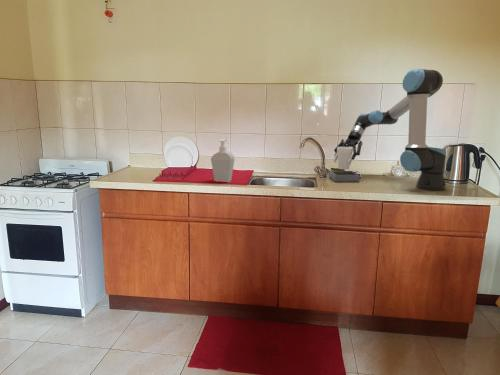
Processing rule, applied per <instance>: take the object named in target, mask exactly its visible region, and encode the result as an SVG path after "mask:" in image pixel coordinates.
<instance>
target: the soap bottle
mask: <svg viewBox="0 0 500 375" xmlns="http://www.w3.org/2000/svg"><path fill="white" fill-rule="evenodd" d="M218 142H219V143H220V146H219V150H218V152H216V153H214V154H213V155H212V156H211V158H210V162H211V167H212V169H211V170H212V175H213V180H214V182H215V181H223V182H229V181H230V180H231V181H232V177H233V171H234V164H235V155H233V153H232V152H229V151H227V146H225V142H227V138H220V139H219V140H218ZM231 181H230V182H231ZM230 182H229V183H230Z"/></svg>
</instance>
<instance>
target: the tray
mask: <svg viewBox="0 0 500 375" xmlns="http://www.w3.org/2000/svg"><path fill="white" fill-rule="evenodd" d="M328 178H329V179H330V180H331V181H333V182H334V183H359V182H360V174H358V173H357V172H354V171H353V170H329V177H328Z"/></svg>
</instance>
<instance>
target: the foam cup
mask: <svg viewBox="0 0 500 375" xmlns="http://www.w3.org/2000/svg"><path fill="white" fill-rule="evenodd" d="M336 147H337V146H336ZM337 153H338V159H337V165H338V166H337V167H338V169H339V170H349V169H350V167H351V166H350V165H351V164H349V163H348V160H349V158H350V156H351V154H352V153H353V147H337Z"/></svg>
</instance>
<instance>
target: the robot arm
mask: <svg viewBox="0 0 500 375" xmlns="http://www.w3.org/2000/svg"><path fill="white" fill-rule="evenodd" d="M443 82H444V78H443V76H442V74H441V73H440V71H438V70H434V69H425V68H416V69H411V70H409V71H408V72H407V73H406V74H404V77H403V79H402V88H403V90H404V91H405V92H406V96H404V97H403V98H401V100H399V101H398V102H397V103H396V104H395V105H393V106H392V107H391V108H390V109H388V110H386V111H383V112H382V111H380V110H377V109H376V110H374V111H372V112H369V113H360V114H359V116H358V117H357V118H356V121H355V123H354V124H353V126H352V128H351V130H350V132H349V134H348V136H347V139H343V138H342V139H341V141H340V142H339V144H338V145H337V146H336V147H335V148H334V150H333V151H334V153H335V154H334V157H333V159H332V160H333V162H334V163H337V162H338V153H337V147H352V148H353V152H352V154H351V156H350V158H349V160H348V163H349V164H350V165H351V164H352V162H353V160H354V161H355V158H357V157H356V156H360V155H361V150H362V146H363V144H364V143H363V141H362V140H361V139H362V136H363V135H364V133H365V130H366V129H367V128H369V127H371V126H374V125H394V124H396V123H398V120H399V118H400V117H401V116H403V115H405V114H406V113H407V112H408V111H409V112H408V138H407V139H408V141H407V145H406V146H405V148H404V151H403V152H402V153H401V154H400V158H399V160H400V165H401V167H402V168H403V169H404V170H405V171H406V172H414V173H416V172H420V174H419V177H418V179H417V182H416V188H418V189H422V190H428V191H444V190H446V181H445V180H446V179H445V176H444V175H445V174H444V173H445V166H446V158H447V150H446V149H445V148H440V147H432V146H428V145H427V144H426V140H427V138H426V136H427V118H428V117H427V115H428V114H427V112H428V110H427V109H428V98H430V97H432V96H433V95H435V94H436V93H437V92H438V91H439V90H440V89H441V88H442V86H443ZM356 146H357V147H356Z"/></svg>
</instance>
